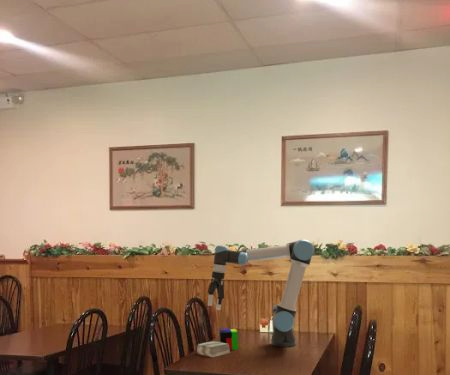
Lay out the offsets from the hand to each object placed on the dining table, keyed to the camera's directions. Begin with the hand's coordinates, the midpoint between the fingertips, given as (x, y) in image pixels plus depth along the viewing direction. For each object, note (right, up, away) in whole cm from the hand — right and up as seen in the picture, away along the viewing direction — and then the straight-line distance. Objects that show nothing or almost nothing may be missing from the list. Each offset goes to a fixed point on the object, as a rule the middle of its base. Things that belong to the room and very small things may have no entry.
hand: (213, 307), depth 278 cm
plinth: (0, -22, -12) cm, 26 cm away
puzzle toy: (+9, -24, 0) cm, 26 cm away
